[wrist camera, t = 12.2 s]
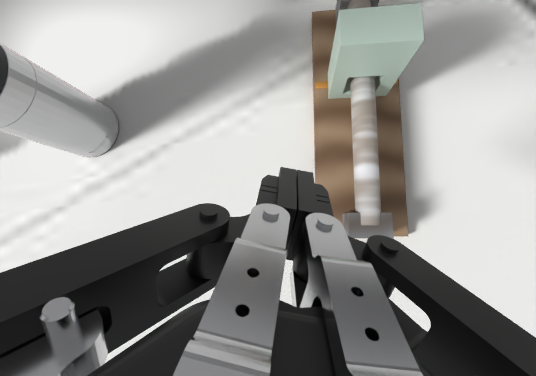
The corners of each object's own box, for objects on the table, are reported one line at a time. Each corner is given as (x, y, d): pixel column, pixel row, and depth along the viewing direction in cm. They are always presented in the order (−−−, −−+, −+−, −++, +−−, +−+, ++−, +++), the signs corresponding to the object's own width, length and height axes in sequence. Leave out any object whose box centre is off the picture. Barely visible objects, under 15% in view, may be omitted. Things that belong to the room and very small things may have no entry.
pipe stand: (403, 235, 38) (428, 239, 30) (316, 235, 39) (320, 238, 32) (390, 12, 42) (409, -31, 35) (311, 19, 43) (314, -21, 36)
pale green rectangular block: (386, 96, 38) (424, 39, 26) (328, 98, 39) (340, 45, 27) (384, 69, 39) (421, 2, 27) (327, 73, 40) (339, 10, 28)
